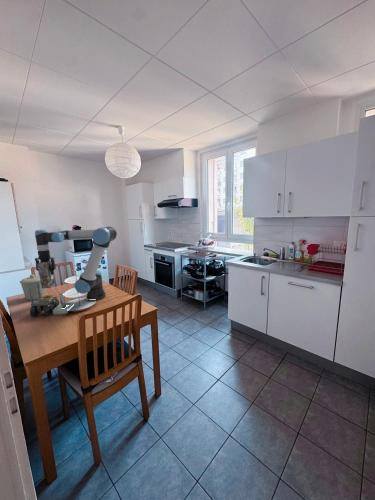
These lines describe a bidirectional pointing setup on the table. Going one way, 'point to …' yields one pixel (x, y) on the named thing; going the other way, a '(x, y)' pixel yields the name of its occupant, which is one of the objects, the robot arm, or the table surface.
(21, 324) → the table surface
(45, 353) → the table surface
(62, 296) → the pin
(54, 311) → the tray
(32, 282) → the canister
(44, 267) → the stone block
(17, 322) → the table surface
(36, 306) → the trolley
